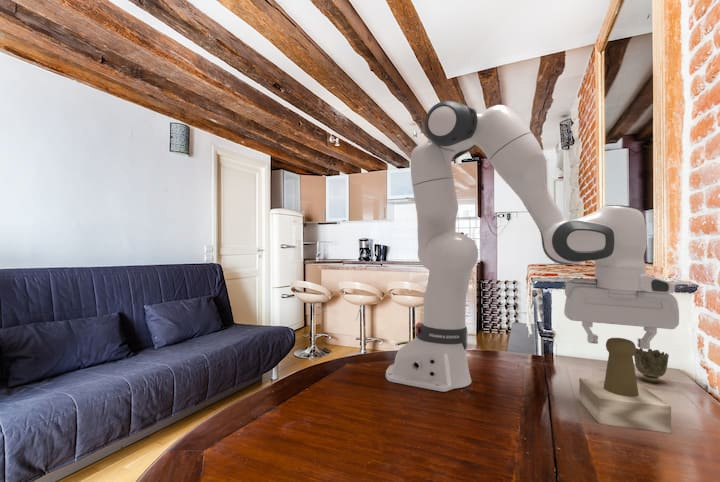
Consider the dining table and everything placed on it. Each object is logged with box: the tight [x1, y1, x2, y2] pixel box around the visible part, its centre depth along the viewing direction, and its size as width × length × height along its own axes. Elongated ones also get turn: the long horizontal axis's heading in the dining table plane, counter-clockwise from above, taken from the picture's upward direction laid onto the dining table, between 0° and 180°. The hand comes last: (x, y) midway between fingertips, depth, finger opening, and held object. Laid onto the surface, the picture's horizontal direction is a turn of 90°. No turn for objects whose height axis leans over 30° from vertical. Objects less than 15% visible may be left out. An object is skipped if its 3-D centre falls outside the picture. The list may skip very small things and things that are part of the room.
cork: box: [604, 337, 639, 397], centre depth 75 cm, size 6×6×11 cm
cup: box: [633, 347, 670, 384], centre depth 95 cm, size 8×7×8 cm
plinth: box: [578, 377, 672, 434], centre depth 75 cm, size 12×12×5 cm
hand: (617, 345), depth 75 cm, fingers open, 8 cm apart
